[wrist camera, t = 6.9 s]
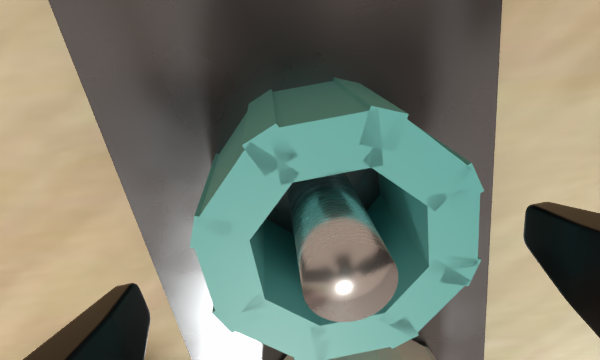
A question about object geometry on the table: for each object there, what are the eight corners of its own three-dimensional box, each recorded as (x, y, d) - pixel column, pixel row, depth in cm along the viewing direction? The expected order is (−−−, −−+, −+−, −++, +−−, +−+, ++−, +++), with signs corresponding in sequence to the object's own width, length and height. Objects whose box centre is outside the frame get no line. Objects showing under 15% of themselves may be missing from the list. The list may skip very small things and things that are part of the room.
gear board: (481, -91, 11) (737, -220, 5) (467, 410, 19) (552, 571, 14) (64, -17, 10) (-180, -63, 5) (242, 456, 19) (234, 639, 13)
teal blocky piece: (412, 62, 11) (488, 83, 7) (419, 247, 14) (477, 331, 10) (191, 103, 11) (154, 146, 7) (242, 282, 13) (235, 380, 10)
